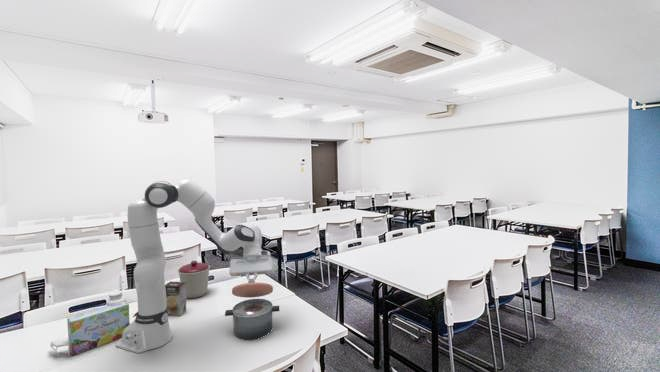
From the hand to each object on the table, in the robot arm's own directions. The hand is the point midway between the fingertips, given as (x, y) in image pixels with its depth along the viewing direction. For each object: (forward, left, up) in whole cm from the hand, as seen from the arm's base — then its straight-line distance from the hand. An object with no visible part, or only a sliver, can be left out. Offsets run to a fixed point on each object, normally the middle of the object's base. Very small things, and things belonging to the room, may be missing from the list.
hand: (251, 283), depth 142 cm
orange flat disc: (-2, +5, -6) cm, 8 cm away
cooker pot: (-1, +3, -24) cm, 24 cm away
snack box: (-64, -18, -24) cm, 70 cm away
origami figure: (-74, -27, -24) cm, 82 cm away
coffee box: (-49, +12, -24) cm, 56 cm away
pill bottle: (-72, -1, -24) cm, 76 cm away
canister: (-53, +35, -24) cm, 68 cm away
